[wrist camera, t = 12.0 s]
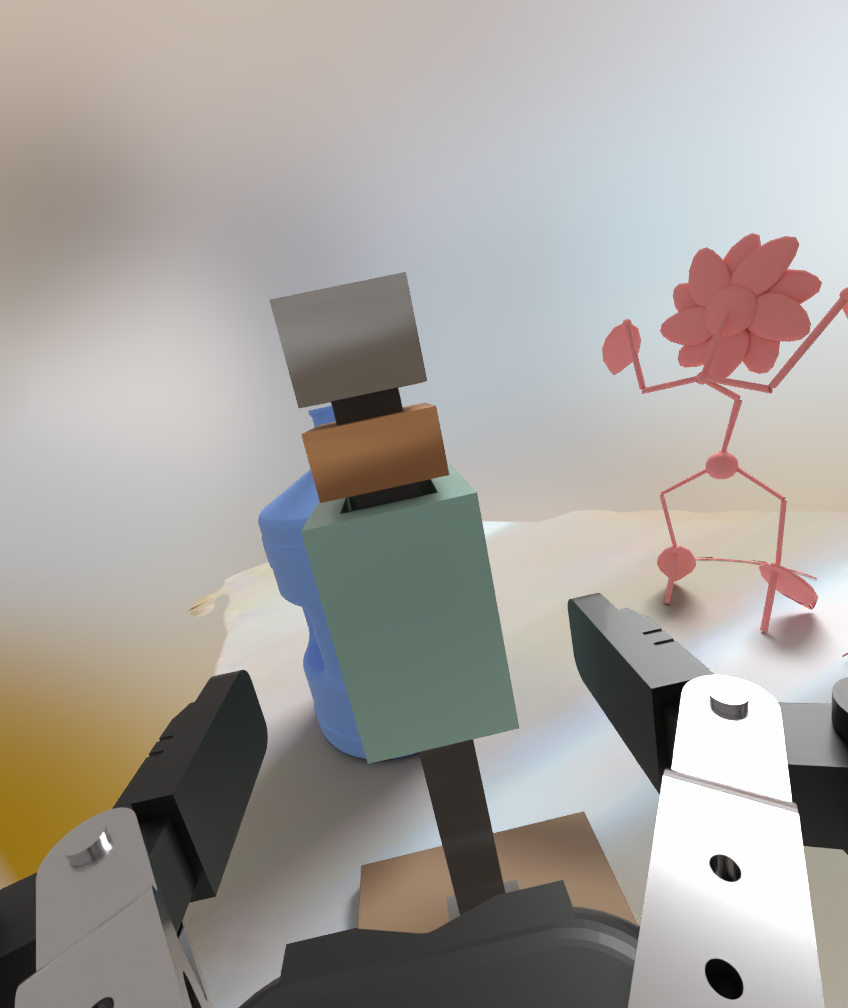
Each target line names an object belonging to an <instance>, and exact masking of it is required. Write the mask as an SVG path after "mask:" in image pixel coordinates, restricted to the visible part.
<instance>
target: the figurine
mask: <svg viewBox="0 0 848 1008" xmlns="http://www.w3.org/2000/svg"><path fill="white" fill-rule="evenodd" d="M798 247H799V243H798V241H797V239H796V237H788V236H785V237H781V238H778V239H774V240H771V241H769V242H767V243H766V244H764V245H762V246H761V243H760V237H759V235H757V234H754V233H751V234H749V235H747V236H745V237H743V238H742V239H741V240H740V241H739V242H738V243H736V244H735V245H734V246H733V247H732V248H731V249H730V251H729V252H728V254H727V255H726V256H725V258H724V259H723V260H722V259H721V257H720V256H719V255H718V254H716V253H715V252H714V251H713V250H711V249H709V248H707V247H706V248H703V249H701V250H699V251H698V252H697V254H696V255H695V256H694V258H693V261H692V264H691V267H690V270H689V283H682V284H679V285H678V286H677V287H676V288H675V289H674V293H673V299H674V303H675V307H676V309H677V310H678V313H677V314H675V315H673V316H671V317H670V318H668V319H667V320H666V321H665V322H664V323H663V324H662V326H661V330H660V331H661V333H662V335H663V336H664V337H666V338H667V339H668V340H669V341H671V342H674V343H677V344H681V345H684V346H683V348H681V350H680V351H679V356H678V361H679V364H680V365H681V366H683V367H697V366H700V365H704V368H703V370H702V372H700V373H699V374H698V375H697V376H696V377H691V378H687V379H682V380H678V381H674V382H669V383H664V384H660V385H656V386H651V387H647V388H646V387H645V383H644V379H643V375H642V371H641V367H640V363H639V359H638V355H637V354H638V352H639V348H640V343H641V338H640V334H639V330H638V328H637V327H636V326H634V325H633V324H631V321H630V320H629V319H626V320H624V321H623V323H622V324H620V325H618V326H616V327H614V328H613V330H612V331H611V332H610V334H609V335H608V336H607V338H606V339H605V343H604V345H603V350H602V351H603V361H604V362H605V364H606V365H607V367H608V368H609V370H610V371H611V373H612V374H613V375H615V374H617V373H619V372H620V371H622V370H623V369H624V368H625V367H627V366H628V365H629V364H630V363H632V362H633V363H634V367H635V371H636V375H637V379H638V383H639V388H640V389H643V391H642V394H644V393H649V392H653V391H658V390H662V389H667V388H671V387H675V386H680V385H684V384H688V383H693V382H697V383H698V384H707V385H709V386H711V387H712V388H714V389H716V390H718V391H719V392H721V393H723V394H725V395H727V396H728V397H730V398H732V399H734V400H735V401H734V405H733V409H732V412H731V416H730V420H729V424H728V428H727V431H726V436H725V439H724V443H723V447H722V451H719V452H718V453H716V454H714V455H712V456H710V457H709V459H708V460H707V462H706V469H705V470H703V471H701V472H699V473H697V474H695V475H693V476H691V477H689V478H687V479H685V480H684V481H682V482H680V483H678V484H676V485H674V486H672V487H670V488H668V489H666V490H665V491H662V492H661V495H660V498H661V502H662V506H663V510H664V514H665V518H666V521H667V525H668V529H669V533H670V536H671V540H672V544H673V547H670V548H667V549H665V550H664V551H663V552H662V553H661V554H660V555H659V557H658V561H657V565H658V567H659V568H660V570H661V571H662V572H663V573H664V574H665V575H667V576H668V577H669V580H668V585H667V590H666V596H665V601H664V603H667V604H670V600H671V594H672V589H673V584H674V581H677V580H679V579H681V578H683V577H684V576H686V575H687V574H689V573H691V572H692V570H693V569H694V568H695V566H696V562H695V560H729V561H740V562H749V563H756V564H761V565H760V567H759V569H760V572H761V575H762V577H763V578H764V579H765V580H766V581H767V582H768V584H769V586H768V591H767V597H766V602H765V607H764V613H763V618H762V624H761V629H760V630H763V631H767V632H768V627H769V621H770V616H771V610H772V605H773V600H774V594H775V589H776V590H777V591H779V592H780V593H781V594H783V595H785V596H787V597H788V598H790V599H792V600H794V601H796V602H797V603H799V604H801V605H803V606H805V607H807V608H809V609H811V610H812V609H813V608H814V607H815V605H816V602H817V599H818V596H817V594H816V592H815V591H814V589H813V587H811V586H810V585H809V584H808V583H807V582H806V581H805V580H804V579H803V578H801V577H799V576H798V575H796V574H795V573H793V572H797V573H801V572H798V571H794V570H791V569H787V568H785V567H782V566H780V563H781V553H782V542H783V532H784V522H785V512H786V500H784V499H785V497H783V496H782V495H780V494H779V493H777V492H775V491H774V490H772V489H771V488H769V487H768V486H766V485H765V484H763V483H762V482H760V481H759V480H757V479H755V478H754V477H752V476H750V475H749V474H748V473H746V472H745V471H743V470H742V469H740V468H739V467H738V461H737V459H736V457H735V456H734V455H732V454H730V453H728V452H726V450H727V446H728V443H729V440H730V437H731V434H732V431H733V428H734V425H735V421H736V419H737V416H738V412H739V409H740V406H741V403H742V400H739V399H740V396H739V395H738V394H736V393H734V392H732V391H730V390H728V389H726V388H724V387H722V386H721V385H718V384H717V383H719V384H724V385H729V386H734V387H740V388H745V389H750V390H756V391H761V392H766V393H772V388H776V387H777V386H778V384H779V383H780V382H781V381H782V379H783V378H784V377H785V376H786V375H787V373H788V372H789V371H790V370H791V369H792V368H793V366H794V365H795V364H796V363H797V362H798V360H799V359H800V358H801V357H802V356H803V354H804V353H805V352H806V351H807V350H808V348H809V347H810V346H811V345H812V344H813V343H814V341H815V340H816V339H817V338H818V336H819V335H820V334H821V333H822V332H823V331H824V329H825V328H826V327H827V326H828V324H829V323H830V322H831V321H832V320H833V319H834V317H835V316H836V315H837V314H838V312H839V311H840V310H841V309H842V308H843V310H844V312H845V314H846V316H847V318H848V288H845V289H843V291H841V293H840V298H839V300H838V301H837V302H836V303H835V305H834V306H833V307H832V308H831V309H830V311H829V312H828V313H827V314H826V316H825V317H824V318H823V319H822V320H821V322H820V323H819V324H818V325H817V326H816V328H815V329H814V330H813V332H812V333H811V334H810V335H809V336H808V337H807V339H806V340H805V341H804V342H803V344H802V345H801V346H800V347H799V348H798V350H797V351H796V352H795V353H794V355H793V356H792V357H791V358H790V359H789V361H788V362H787V363H786V364H785V365H784V367H783V368H782V369H781V370H780V372H779V373H778V374H777V376H776V377H775V378H774V379H773V380H772V381H771V383H770V384H769V386H768V385H762V384H756V383H750V382H745V381H739V380H733V379H727V378H726V377H728V376H729V375H730V374H731V373H732V372H733V371H734V370H735V369H736V368H737V367H738V366H739V364H740V363H741V362H742V361H743V362H744V364H745V365H746V366H747V368H748V369H749V371H752V372H756V373H759V374H760V373H766V372H768V371H769V370H770V369H771V368H772V367H773V366H774V363H775V361H776V359H777V357H778V354H779V345H780V341H795V340H800V339H802V338H803V337H805V336H806V335H807V334H808V333H809V330H810V325H811V323H810V320H809V318H808V315H807V313H806V311H805V310H804V309H803V308H802V306H801V305H800V304H801V303H803V302H804V301H806V300H808V299H810V298H811V297H812V296H814V295H815V294H816V293H818V292H819V290H820V287H821V283H822V282H821V281H820V280H819V279H818V277H816V276H814V275H813V274H811V273H809V272H807V271H804V270H791V269H787V268H788V267H789V265H790V263H791V262H792V260H793V258H794V257H795V255H796V252H797V249H798ZM771 387H772V388H771ZM736 472H739V473H740V474H742V475H744V476H745V477H747V478H748V479H750V480H751V481H753V482H754V483H756V484H758V485H759V486H761V487H762V488H764V489H765V490H767V491H768V492H770V493H771V494H773V495H774V496H776V497H777V498H779V499H780V500H781V509H780V520H779V530H778V541H777V552H776V563H775V564H774V563H771V564H770V565H769V564H768V563H767V562H762V561H758V562H762V563H757V562H750V561H741V560H730V559H695V557H694V556H693V554H692V553H691V551H690V550H689V549H687V548H684V547H681V546H679V547H678V548H677V545H676V541H675V537H674V533H673V529H672V525H671V522H670V518H669V514H668V510H667V506H666V502H665V498H664V494H666V493H668V492H670V491H672V490H674V489H675V488H677V487H679V486H681V485H683V484H685V483H687V482H689V481H691V480H693V479H695V478H697V477H699V476H701V475H703V474H705V473H708V474H709V475H710V476H711V477H713V478H717V479H727V478H730V477H732V476H733V475H734V474H735V473H736ZM699 558H712V557H699ZM753 561H755V560H753ZM792 571H793V572H792ZM801 574H804V573H801ZM804 575H806V576H809V577H812V578H815V579H817V578H816V577H813V576H810V575H807V574H804ZM810 604H811V605H812V606H813V608H812V607H811V606H810ZM847 654H848V653H846V654H845V655H843V657H844V656H846V655H847Z"/></svg>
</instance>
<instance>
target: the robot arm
mask: <svg viewBox="0 0 848 1008" xmlns="http://www.w3.org/2000/svg"><path fill="white" fill-rule="evenodd" d="M568 614H569V621H570V629H571V636H572V644H573V652H574V658H575V662H576V665H577V668H578V671H579V674H580V676H581V678H582V680H583V682H584V683H585V685H586V686H587V688H588V689H589V691H590V692H591V694H592V695H593V697H594V698H595V700H596V701H597V702H598V704H599V705H600V707H601V708H602V710H603V711H604V713H605V714H606V716H607V717H608V719H609V720H610V722H611V723H612V725H613V726H614V728H615V729H616V731H617V732H618V734H619V735H620V737H621V738H622V740H623V741H624V743H625V744H626V745H627V747H628V748H629V750H630V751H631V753H632V754H633V756H634V757H635V759H636V760H637V762H638V763H639V765H640V766H641V768H642V769H643V771H644V772H645V774H646V775H647V777H648V778H649V780H650V781H651V783H652V784H653V786H654V787H655V789H656V790H657V791H658V793H659V794H660V800H659V807H658V813H657V820H656V826H655V833H654V839H653V846H652V852H651V859H650V866H649V872H648V879H647V885H646V892H645V898H644V905H643V912H642V918H641V925H640V926H638V925H636V924H634V923H632V922H630V921H628V920H626V919H624V918H622V917H619V916H616V915H613V914H610V913H607V912H604V911H600V910H596V909H591V908H586V907H576V906H572V903H571V900H570V897H569V895H568V892H567V889H566V886H565V883H564V881H563V880H560V881H555V882H551V883H547V884H543V885H538V886H534V887H530V888H525V889H521V890H517V891H513V892H508V893H504V894H500V895H496V896H494V897H492V898H490V899H489V900H487V901H485V902H483V903H482V904H480V905H478V906H476V907H474V908H473V909H471V910H469V911H467V912H466V913H464V914H462V915H460V916H458V917H457V918H455V919H453V920H451V921H450V922H448V923H446V924H444V925H442V926H441V927H439V928H437V929H435V930H433V931H431V932H428V933H408V932H396V931H383V930H371V929H358V928H354V929H350V930H346V931H341V932H337V933H333V934H328V935H324V936H320V937H316V938H311V939H307V940H303V941H299V942H294V943H290V944H286V950H285V955H284V960H283V965H282V971H281V976H280V977H279V978H277V979H275V980H273V981H272V982H271V983H269V984H268V985H266V986H265V987H263V988H262V989H261V990H259V991H258V992H256V993H255V994H254V995H253V996H252V997H250V998H249V999H248V1000H247V1001H246V1002H245V1003H243V1004H242V1005H241V1006H240V1007H239V1008H825V1005H824V998H823V990H822V983H821V976H820V968H819V961H818V954H817V946H816V939H815V932H814V924H813V917H812V910H811V902H810V895H809V887H808V880H807V873H806V865H805V858H804V851H803V846H811V847H821V848H832V849H842V850H844V851H845V852H846V853H847V855H848V677H847V678H844V679H841V680H839V681H838V682H837V683H835V685H834V686H833V689H832V704H819V703H781V702H777V701H776V700H775V699H774V698H773V697H772V696H771V695H770V694H769V693H768V692H767V691H765V690H764V689H762V688H761V687H759V686H757V685H755V684H753V683H750V682H748V681H745V680H742V679H739V678H735V677H730V676H722V675H715V674H714V673H712V672H711V671H710V670H709V669H708V668H707V667H705V666H704V665H703V664H702V663H701V662H700V661H698V660H697V659H696V658H695V657H694V656H693V655H691V654H690V653H689V652H688V651H687V650H686V649H685V648H683V647H682V646H681V645H680V644H679V643H678V642H676V641H675V642H674V640H673V638H672V637H671V636H669V635H668V634H667V633H666V632H665V631H662V630H661V628H660V627H659V626H658V625H657V624H656V623H654V622H653V621H652V620H651V619H650V618H649V617H647V616H645V615H643V614H640V613H638V612H636V611H633V610H631V609H628V608H624V609H620V610H618V609H617V608H616V607H614V606H613V605H612V604H611V603H610V602H609V601H608V600H607V599H606V598H605V597H604V596H603V595H602V594H600V593H596V594H592V595H587V596H582V597H578V598H573V599H570V600H569V601H568ZM159 739H160V741H159V742H157V743H156V744H155V746H154V747H153V749H152V750H151V752H150V753H149V757H148V758H146V759H145V761H144V762H143V764H142V765H141V767H140V768H139V770H138V771H137V773H136V774H135V776H134V777H133V779H132V780H131V781H130V783H129V785H128V786H127V788H126V789H125V790H124V792H123V793H122V795H121V796H120V798H119V799H118V801H117V802H116V804H115V805H114V807H113V808H112V809H111V810H107V811H104V812H102V813H100V814H97V815H95V816H93V817H91V818H90V819H88V820H86V821H85V822H83V823H82V824H80V825H79V826H77V827H76V828H74V829H73V830H72V831H70V832H69V833H68V834H67V835H66V836H65V837H63V838H62V839H61V840H60V841H59V842H58V843H57V844H56V845H55V846H54V847H53V848H52V850H51V851H50V852H49V853H48V855H47V856H46V857H45V859H44V860H43V862H42V864H41V865H40V867H39V870H38V872H37V873H35V874H33V875H31V876H29V877H26V878H24V879H23V880H20V881H18V882H16V883H14V884H12V885H9V886H7V887H5V888H3V889H1V890H0V1008H213V1006H212V1003H211V1000H210V997H209V994H208V991H207V988H206V985H205V982H204V979H203V976H202V973H201V970H200V967H199V964H198V960H197V957H196V954H195V951H194V948H193V945H192V942H191V939H190V936H189V933H188V930H187V928H186V926H185V924H184V921H183V917H184V915H185V912H186V910H187V907H188V904H189V902H194V901H198V900H202V899H207V898H211V897H215V896H216V894H217V891H218V888H219V885H220V882H221V879H222V876H223V873H224V871H225V868H226V865H227V862H228V859H229V856H230V853H231V850H232V848H233V845H234V842H235V839H236V836H237V833H238V830H239V827H240V825H241V822H242V819H243V816H244V813H245V810H246V807H247V804H248V801H249V799H250V796H251V793H252V790H253V787H254V784H255V781H256V778H257V776H258V773H259V770H260V767H261V764H262V761H263V758H264V755H265V753H266V749H267V740H268V736H267V726H266V722H265V719H264V716H263V713H262V710H261V707H260V704H259V701H258V698H257V695H256V692H255V690H254V687H253V684H252V681H251V678H250V676H249V674H248V672H247V671H245V670H240V671H236V672H231V673H227V674H222V675H217V676H213V677H211V678H210V679H209V681H208V682H207V684H206V685H205V687H204V688H203V690H202V692H201V693H200V695H199V696H198V698H197V700H196V701H195V702H193V703H190V704H189V705H188V706H187V707H186V708H185V709H184V710H182V711H181V712H180V713H179V714H178V715H177V716H176V717H175V718H173V719H172V721H171V722H170V723H169V725H168V726H167V728H166V729H165V731H164V732H163V734H162V735H161V737H160V738H159Z"/></svg>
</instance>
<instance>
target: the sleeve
mask: <svg viewBox="0 0 848 1008" xmlns="http://www.w3.org/2000/svg"><path fill="white" fill-rule="evenodd" d="M448 470H449V475H447V476H443V477H438V478H434V479H429V480H425V481H420V482H418V484H419V488H420V493H421V496H420V497H415V498H411V499H406V500H402V501H397V502H393V503H388V504H384V505H379V506H374V507H370V508H365V509H361V510H358V507H357V503H356V499H355V496H351V497H347V498H342V499H338V500H333V501H328V502H324V503H320V501H319V502H318V504H317V505H316V507H315V509H314V510H313V512H312V514H311V515H310V517H309V519H308V520H307V522H306V524H305V525H304V527H303V528H302V530H301V534H302V537H303V541H304V544H305V548H306V551H307V555H308V558H309V562H310V565H311V569H312V572H313V576H314V579H315V582H316V586H317V589H318V593H319V596H320V600H321V603H322V607H323V610H324V614H325V617H326V621H327V624H328V628H329V631H330V634H331V638H332V641H333V645H334V648H335V652H336V655H337V659H338V662H339V666H340V669H341V673H342V676H343V680H344V683H345V686H346V690H347V693H348V697H349V700H350V704H351V707H352V711H353V714H354V718H355V721H356V725H357V728H358V732H359V735H360V738H361V742H362V745H363V749H364V752H365V756H366V759H367V763H368V764H370V763H374V762H378V761H383V760H387V759H391V758H395V757H400V756H404V755H408V754H412V753H416V752H421V751H425V750H429V749H433V748H438V747H442V746H446V745H450V744H454V743H459V742H463V741H467V740H471V739H475V738H480V737H484V736H488V735H492V734H497V733H501V732H505V731H509V730H513V729H518V728H519V724H518V719H517V713H516V708H515V702H514V696H513V691H512V685H511V680H510V674H509V669H508V663H507V658H506V652H505V646H504V641H503V635H502V630H501V624H500V619H499V613H498V608H497V602H496V596H495V591H494V585H493V580H492V574H491V569H490V563H489V558H488V552H487V546H486V541H485V535H484V530H483V524H482V519H481V513H480V508H479V502H478V496H477V492H476V491H475V490H474V489H473V488H472V487H471V486H470V485H469V483H468V482H467V481H466V480H465V479H464V478H463V477H462V476H461V475H460V474H459V473H458V471H457V470H456V469H455V468H454V467H453V466H452V465H449V466H448Z"/></svg>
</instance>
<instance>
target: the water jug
mask: <svg viewBox="0 0 848 1008" xmlns="http://www.w3.org/2000/svg"><path fill="white" fill-rule="evenodd" d="M309 415H310V416H311V417H312V418H313V422H314V426H315V427H317V426H319V425H322V424H327V423H332V422H336V420H335V416H334V412H333V408H332V406H329V407H324V408H319V409H315V410H310V411H309ZM318 502H319V497H318V494H317V490H316V486H315V483H314V479H313V475H312V472H311V469H310V470H309V471H308V472H307V473H306V474H305V475H303V476H302V477H301V478H300V479H299V480H297V481H296V482H295V483H294V484H293V485H292V486H290V487H289V488H288V489H287V490H285V491H284V492H283V493H282V494H281V495H280V496H278V497H277V498H276V499H275V500H274V501H272V502H271V503H270V504H269V505H268V506H266V507H265V508H264V509H263V510H262V512H261V513H260V515H259V520H258V522H259V526H260V529H261V533H262V541H263V546H264V549H265V552H266V555H267V558H268V561H269V564H270V566H271V568H272V569H273V571H274V575H275V578H276V581H277V584H278V588H279V591H280V594H281V595H282V596H283V597H284V598H285V599H286V600H288V601H289V602H291V603H293V604H295V605H298V606H301V607H303V611H304V614H305V617H306V621H307V624H308V627H309V643H308V647H307V649H306V652H305V655H304V660H303V666H304V671H305V674H306V677H307V681H308V684H309V687H310V690H311V693H312V697H313V700H314V706H315V712H316V716H317V719H318V722H319V725H320V728H321V730H322V732H323V734H324V736H325V737H326V739H327V740H328V741H329V742H330V743H331V744H332V745H333V746H334V747H336V748H337V749H339V750H340V751H342V752H344V753H346V754H349V755H351V756H355V757H359V758H364V759H366V756H365V752H364V749H363V745H362V742H361V738H360V735H359V732H358V728H357V725H356V721H355V718H354V714H353V711H352V707H351V704H350V700H349V697H348V693H347V690H346V686H345V683H344V680H343V676H342V673H341V669H340V666H339V662H338V659H337V655H336V652H335V648H334V645H333V641H332V638H331V634H330V631H329V628H328V624H327V621H326V617H325V614H324V610H323V607H322V603H321V600H320V596H319V593H318V589H317V586H316V582H315V579H314V576H313V572H312V569H311V565H310V562H309V558H308V555H307V551H306V548H305V544H304V541H303V537H302V534H301V530H302V528H303V527H304V525H305V524H306V522H307V520H308V519H309V517H310V515H311V514H312V512H313V510H314V509H315V507H316V505H317V504H318ZM416 753H418V752H416ZM412 754H415V753H412ZM412 754H408V755H404V756H400V757H405V756H409V755H412ZM400 757H395V758H400ZM391 759H394V758H391Z"/></svg>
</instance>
